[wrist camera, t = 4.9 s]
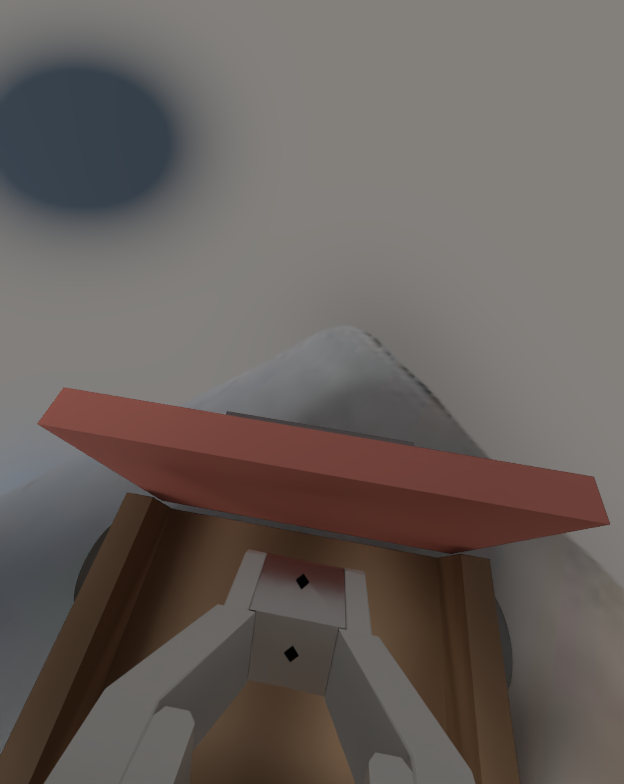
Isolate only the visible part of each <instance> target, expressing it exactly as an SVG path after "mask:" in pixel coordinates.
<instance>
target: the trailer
mask: <svg viewBox="0 0 624 784" xmlns="http://www.w3.org/2000/svg"><path fill="white" fill-rule="evenodd" d="M248 549H250V550H255V551H259V552H264V553H267V554H268V553H271V554H275V555H280V556H284V557H289V558H294V559H298V560H303V561H308V562H314V563H319V564H325V565H330V566H335V567H341V568H343V569H344V568H349V569H355V570H360V571H364V573H365V575H366V584H367V593H368V602H369V610H370V619H371V628H372V635H374V636H378V637H380V639H381V640H382V642H383V643H384V645H385V646H386V647H387V649H388V650H389V652H390V653H391V655H392V656H393V658H394V659H395V661H396V662H397V663H398V665H399V666H400V668H401V669H402V671H403V672H404V674H405V675H406V677H407V678H408V679H409V681H410V682H411V684H412V685H413V687H414V688H415V690H416V691H417V692H418V694H419V695H420V697H421V698H422V700H423V701H424V703H425V704H426V706H427V707H428V708H429V710H430V711H431V713H432V714H433V716H434V717H435V719H436V720H437V721H438V723H439V724H440V726H441V727H442V729H443V730H444V732H445V733H446V735H447V736H448V737H449V739H450V740H451V742H452V743H453V745H454V746H455V748H456V749H457V751H458V752H459V753H460V755H461V756H462V758H463V759H464V761H465V762H466V764H467V765H468V766H469V768H470V769H471V771H472V774H473V777H474V780H475V784H520V779H519V772H518V765H517V757H516V750H515V742H514V735H513V728H512V720H511V713H510V706H509V698H508V689H509V686H510V683H511V677H512V649H511V642H510V636H509V632H508V628H507V624H506V621H505V618H504V615H503V612H502V610H501V608H500V606H499V604H498V602H497V600H496V598H495V595H494V588H493V581H492V573H491V566H490V559H486V558H481V557H475V556H470V555H464V554H457V555H451V556H446V557H440V558H435V557H430V556H424V555H419V554H414V553H408V552H403V551H397V550H392V549H387V548H381V547H376V546H370V545H365V544H360V543H354V542H349V541H343V540H338V539H333V538H327V537H322V536H316V535H311V534H305V533H300V532H295V531H289V530H284V529H278V528H273V527H268V526H262V525H257V524H251V523H246V522H241V521H235V520H230V519H224V518H219V517H214V516H208V515H203V514H197V513H192V512H187V511H181V510H176V509H172V508H170V507H168V506H167V505H165V504H163V503H162V502H160V501H158V500H157V499H155V498H153V497H149V496H143V495H138V494H132V493H127V494H126V496H125V498H124V500H123V502H122V504H121V506H120V508H119V510H118V513H117V515H116V517H115V519H114V521H113V523H112V525H111V526H110V527H109V528H108V529H107V530H106V531H105V532H104V533H103V534H102V535H101V536H100V538H99V539H98V540H97V542H96V543H95V544H94V546H93V547H92V549H91V551H90V552H89V554H88V556H87V558H86V560H85V562H84V564H83V566H82V568H81V571H80V573H79V576H78V579H77V583H76V587H75V593H74V604H73V606H72V608H71V610H70V612H69V614H68V616H67V618H66V620H65V622H64V624H63V626H62V629H61V631H60V633H59V635H58V637H57V639H56V641H55V643H54V645H53V647H52V649H51V651H50V653H49V655H48V658H47V660H46V662H45V664H44V666H43V668H42V670H41V672H40V674H39V676H38V678H37V680H36V682H35V684H34V687H33V689H32V691H31V693H30V695H29V697H28V699H27V701H26V703H25V705H24V707H23V709H22V711H21V713H20V716H19V718H18V720H17V722H16V724H15V726H14V728H13V730H12V732H11V734H10V736H9V738H8V740H7V742H6V745H5V747H4V749H3V751H2V753H1V755H0V784H44V782H45V781H46V779H47V778H48V776H49V775H50V773H51V772H52V770H53V769H54V767H55V766H56V764H57V762H58V761H59V759H60V758H61V756H62V755H63V753H64V752H65V750H66V749H67V747H68V745H69V744H70V742H71V741H72V739H73V738H74V736H75V735H76V733H77V732H78V730H79V728H80V727H81V725H82V724H83V722H84V721H85V719H86V718H87V716H88V715H89V713H90V712H91V710H92V708H93V707H94V705H95V704H96V702H97V701H98V699H99V698H100V696H101V695H102V693H103V691H104V690H105V689H106V688H107V687H108V686H110V685H111V684H112V683H114V682H115V681H116V680H118V679H119V678H120V677H122V676H123V675H124V674H126V673H127V672H128V671H130V670H131V669H132V668H134V667H135V666H136V665H137V664H139V663H140V662H141V661H143V660H144V659H145V658H147V657H148V656H149V655H151V654H152V653H153V652H155V651H156V650H157V649H159V648H160V647H161V646H163V645H164V644H165V643H167V642H168V641H169V640H171V639H172V638H173V637H175V636H176V635H177V634H179V633H180V632H181V631H183V630H184V629H185V628H187V627H188V626H189V625H190V624H192V623H193V622H194V621H196V620H197V619H198V618H200V617H201V616H202V615H204V614H205V613H206V612H208V611H209V610H210V609H212V608H213V607H214V606H216V605H217V604H219V605H224V604H225V601H226V599H227V596H228V594H229V591H230V589H231V587H232V584H233V582H234V579H235V577H236V574H237V572H238V570H239V567H240V565H241V562H242V560H243V557H244V555H245V553H246V552H247V550H248ZM324 699H325V697H324V696H320V695H316V694H311V693H307V692H303V691H299V690H295V689H291V688H287V687H283V686H277V685H271V684H266V683H260V682H254V681H249V680H247V684H246V685H245V686H244V687H243V689H242V690H241V691H240V692H239V694H238V695H237V696H236V697H235V699H234V700H233V701H232V702H231V704H230V705H229V706H228V707H227V709H226V710H225V711H224V713H223V714H222V715H221V716H220V718H219V719H218V720H217V721H216V723H215V724H214V725H213V726H212V728H211V729H210V730H209V731H208V733H207V734H206V735H205V736H204V738H203V739H202V740H201V742H200V743H199V744H198V745H197V747H196V748H195V749H194V750H193V752H192V763H191V774H190V784H355V781H354V779H353V776H352V773H351V770H350V768H349V765H348V762H347V759H346V757H345V754H344V751H343V749H342V746H341V743H340V740H339V738H338V735H337V732H336V730H335V727H334V724H333V721H332V719H331V716H330V713H329V710H328V708H327V705H326V702H325V700H324Z"/></svg>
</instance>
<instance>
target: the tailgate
mask: <svg viewBox="0 0 624 784" xmlns="http://www.w3.org/2000/svg"><path fill="white" fill-rule="evenodd" d="M38 425H40V426H41V427H43V428H45V429H46V430H48V431H50V432H51V433H53V434H54V435H56V436H58V437H59V438H61V439H63V440H64V441H66V442H68V443H69V444H71V445H72V446H74V447H76V448H77V449H79V450H80V451H82V452H84V453H85V454H87V455H89V456H90V457H92V458H93V459H95V460H97V461H98V462H100V463H102V464H103V465H105V466H106V467H108V468H110V469H111V470H113V471H115V472H116V473H118V474H119V475H121V476H123V477H124V478H126V479H128V480H129V481H131V482H132V483H134V484H136V485H137V486H139V487H141V488H142V489H144V490H145V491H147V492H149V493H150V494H152V495H154V496H155V497H157V498H158V499H160V500H162V501H167V502H173V503H178V504H183V505H189V506H194V507H200V508H205V509H211V510H216V511H221V512H227V513H232V514H238V515H243V516H249V517H254V518H260V519H265V520H270V521H276V522H281V523H287V524H292V525H298V526H303V527H308V528H314V529H319V530H325V531H330V532H336V533H341V534H346V535H352V536H357V537H363V538H368V539H374V540H379V541H385V542H390V543H395V544H401V545H406V546H412V547H417V548H423V549H428V550H433V551H439V552H444V553H450V554H453V553H458V552H464V551H469V550H474V549H480V548H485V547H491V546H496V545H501V544H507V543H512V542H518V541H523V540H529V539H534V538H539V537H545V536H550V535H556V534H561V533H566V532H571V531H577V530H583V529H588V528H593V527H599V526H604V525H610V522H609V519H608V516H607V514H606V511H605V508H604V505H603V502H602V499H601V496H600V493H599V490H598V487H597V484H596V481H595V479H594V477H592V476H586V475H580V474H574V473H568V472H562V471H557V470H550V469H545V468H539V467H533V466H526V465H521V464H515V463H509V462H503V461H497V460H491V459H485V458H480V457H474V456H468V455H462V454H456V453H450V452H444V451H438V450H432V449H426V448H420V447H414V446H413V442H407V441H401V440H395V439H389V438H383V437H377V436H371V435H365V434H359V433H353V432H347V431H341V430H335V429H329V428H324V427H318V426H312V425H306V424H300V423H294V422H288V421H282V420H276V419H270V418H264V417H258V416H252V415H246V414H240V413H234V412H228V411H227V413H226V415H225V414H219V413H213V412H207V411H201V410H195V409H189V408H183V407H177V406H171V405H165V404H159V403H153V402H147V401H141V400H136V399H129V398H124V397H118V396H112V395H106V394H99V393H93V392H88V391H82V390H76V389H70V388H63V389H62V391H61V392H60V393H59V395H58V396H57V398H56V399H55V401H54V402H53V403H52V404H51V406H50V407H49V408H48V410H47V411H46V413H45V414H44V415H43V417H42V418H41V419H40V421H39V422H38Z"/></svg>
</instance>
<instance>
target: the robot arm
mask: <svg viewBox="0 0 624 784" xmlns="http://www.w3.org/2000/svg"><path fill="white" fill-rule="evenodd" d="M247 680H249V681H254V682H260V683H266V684H271V685H277V686H283V687H287V688H291V689H295V690H299V691H303V692H307V693H311V694H316V695H320V696H324V697H325V699H324V700H325V702H326V705H327V708H328V710H329V713H330V716H331V719H332V721H333V724H334V727H335V730H336V732H337V735H338V738H339V740H340V743H341V746H342V749H343V751H344V754H345V757H346V759H347V762H348V765H349V768H350V770H351V773H352V776H353V779H354V781H355V784H475V780H474V777H473V774H472V771H471V769H470V768H469V766H468V765H467V764H466V762H465V761H464V759H463V758H462V756H461V755H460V753H459V752H458V751H457V749H456V748H455V746H454V745H453V743H452V742H451V740H450V739H449V737H448V736H447V735H446V733H445V732H444V730H443V729H442V727H441V726H440V724H439V723H438V721H437V720H436V719H435V717H434V716H433V714H432V713H431V711H430V710H429V708H428V707H427V706H426V704H425V703H424V701H423V700H422V698H421V697H420V695H419V694H418V692H417V691H416V690H415V688H414V687H413V685H412V684H411V682H410V681H409V679H408V678H407V677H406V675H405V674H404V672H403V671H402V669H401V668H400V666H399V665H398V663H397V662H396V661H395V659H394V658H393V656H392V655H391V653H390V652H389V650H388V649H387V647H386V646H385V645H384V643H383V642H382V640H381V639H380V637H378V636H374V635H372V628H371V619H370V610H369V602H368V593H367V584H366V575H365V573H364V571H360V570H355V569H349V568H344V569H343V568H341V567H335V566H330V565H325V564H319V563H314V562H308V561H303V560H298V559H294V558H289V557H284V556H280V555H275V554H271V553H268V554H267V553H264V552H259V551H255V550H250V549H248V550H247V552H246V553H245V555H244V557H243V560H242V562H241V565H240V567H239V570H238V572H237V574H236V577H235V579H234V582H233V584H232V587H231V589H230V591H229V594H228V596H227V599H226V601H225V604H224V605H219V604H217V605H216V606H214V607H213V608H212V609H210V610H209V611H208V612H206V613H205V614H204V615H202V616H201V617H200V618H198V619H197V620H196V621H194V622H193V623H192V624H190V625H189V626H188V627H187V628H185V629H184V630H183V631H181V632H180V633H179V634H177V635H176V636H175V637H173V638H172V639H171V640H169V641H168V642H167V643H165V644H164V645H163V646H161V647H160V648H159V649H157V650H156V651H155V652H153V653H152V654H151V655H149V656H148V657H147V658H145V659H144V660H143V661H141V662H140V663H139V664H137V665H136V666H135V667H134V668H132V669H131V670H130V671H128V672H127V673H126V674H124V675H123V676H122V677H120V678H119V679H118V680H116V681H115V682H114V683H112V684H111V685H110V686H108V687H107V688H106V689H105V690H104V691H103V693H102V695H101V696H100V698H99V699H98V701H97V702H96V704H95V705H94V707H93V708H92V710H91V712H90V713H89V715H88V716H87V718H86V719H85V721H84V722H83V724H82V725H81V727H80V728H79V730H78V732H77V733H76V735H75V736H74V738H73V739H72V741H71V742H70V744H69V745H68V747H67V749H66V750H65V752H64V753H63V755H62V756H61V758H60V759H59V761H58V762H57V764H56V766H55V767H54V769H53V770H52V772H51V773H50V775H49V776H48V778H47V779H46V781H45V782H44V784H190V774H191V763H192V752H193V750H194V749H195V748H196V747H197V745H198V744H199V743H200V742H201V740H202V739H203V738H204V736H205V735H206V734H207V733H208V731H209V730H210V729H211V728H212V726H213V725H214V724H215V723H216V721H217V720H218V719H219V718H220V716H221V715H222V714H223V713H224V711H225V710H226V709H227V707H228V706H229V705H230V704H231V702H232V701H233V700H234V699H235V697H236V696H237V695H238V694H239V692H240V691H241V690H242V689H243V687H244V686H245V685H246V684H247Z"/></svg>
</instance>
